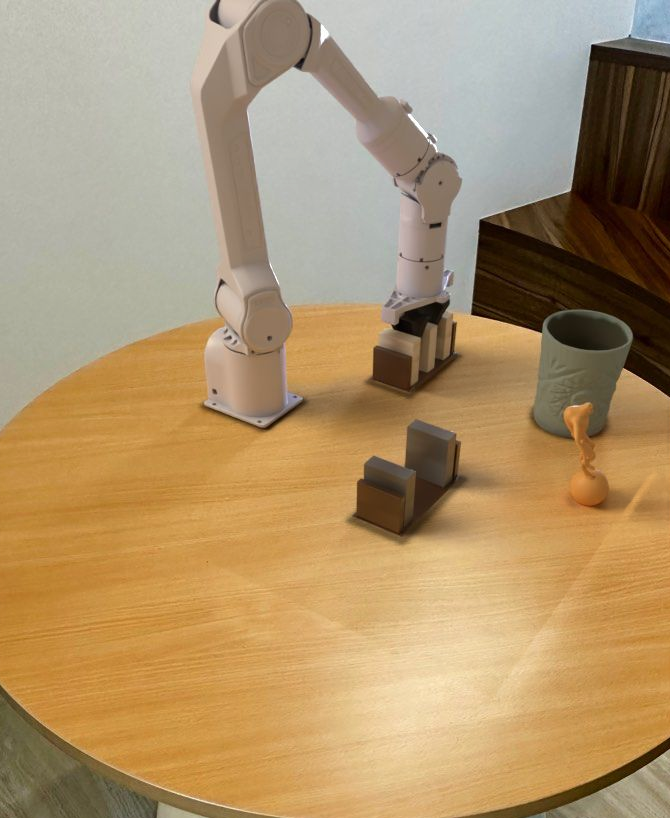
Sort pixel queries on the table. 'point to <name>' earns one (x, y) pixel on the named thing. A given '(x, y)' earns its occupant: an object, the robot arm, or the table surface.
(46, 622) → the table surface
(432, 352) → the white book
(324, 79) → the robot arm
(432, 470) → the brown book rack
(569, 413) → the figurine
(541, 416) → the grey green cup
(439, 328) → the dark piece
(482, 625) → the table surface
